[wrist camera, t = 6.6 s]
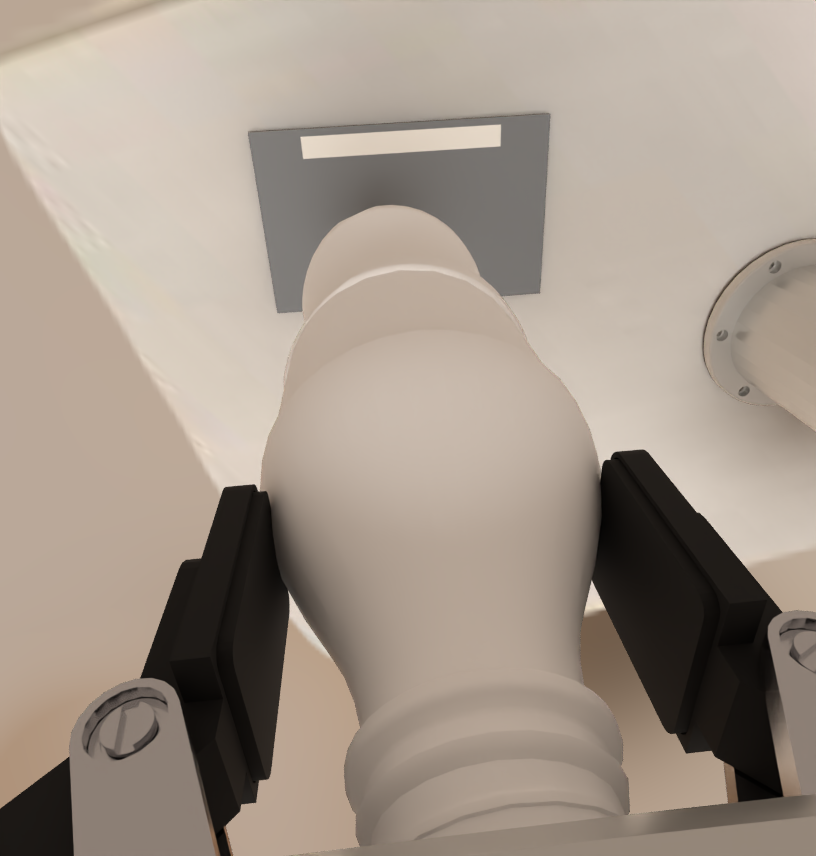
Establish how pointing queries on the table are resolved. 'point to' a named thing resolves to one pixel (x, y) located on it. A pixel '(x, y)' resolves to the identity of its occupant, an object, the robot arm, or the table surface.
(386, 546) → the water bottle
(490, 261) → the board
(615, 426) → the table surface
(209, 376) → the table surface
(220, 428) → the table surface
